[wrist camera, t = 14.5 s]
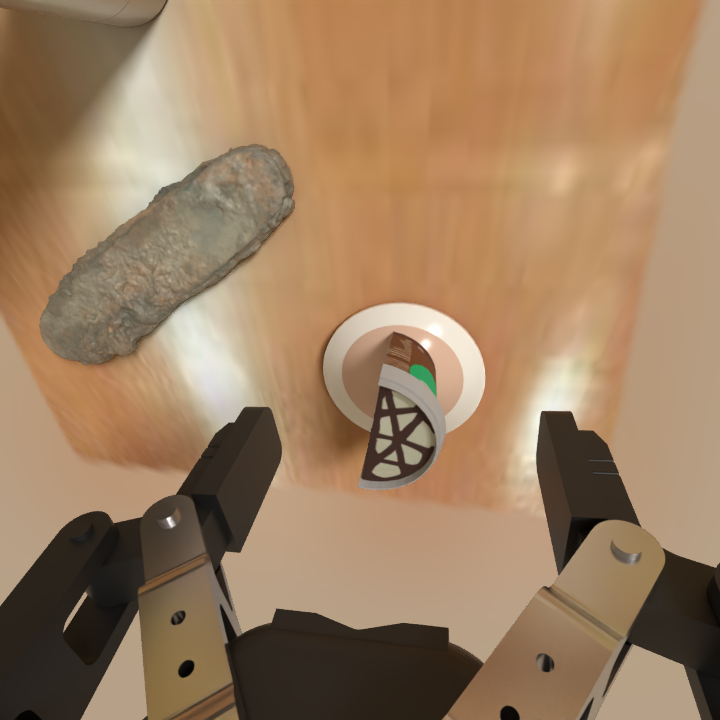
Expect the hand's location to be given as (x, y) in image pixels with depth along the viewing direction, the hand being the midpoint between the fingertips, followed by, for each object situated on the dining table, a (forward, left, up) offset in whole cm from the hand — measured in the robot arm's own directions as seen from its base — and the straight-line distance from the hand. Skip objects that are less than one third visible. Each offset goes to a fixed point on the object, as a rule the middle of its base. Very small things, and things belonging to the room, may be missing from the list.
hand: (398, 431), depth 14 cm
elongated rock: (-28, -3, -29) cm, 40 cm away
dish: (-5, -16, -28) cm, 32 cm away
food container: (-3, -16, -27) cm, 31 cm away
